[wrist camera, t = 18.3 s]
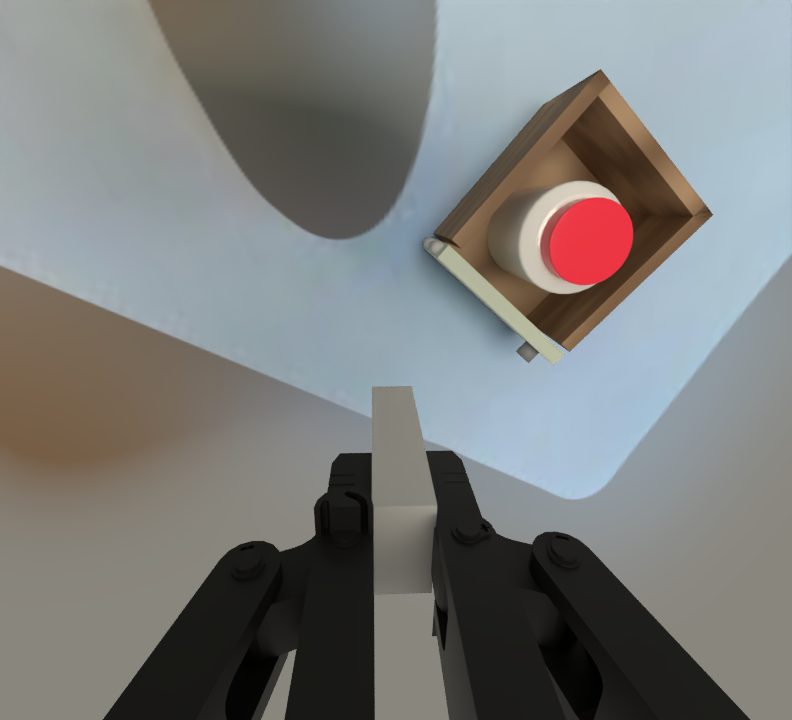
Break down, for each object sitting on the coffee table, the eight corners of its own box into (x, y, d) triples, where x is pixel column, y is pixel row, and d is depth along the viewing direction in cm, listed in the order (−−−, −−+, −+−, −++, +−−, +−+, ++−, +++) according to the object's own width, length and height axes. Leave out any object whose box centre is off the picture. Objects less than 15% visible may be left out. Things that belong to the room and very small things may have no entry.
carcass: (433, 232, 36) (451, 239, 28) (543, 104, 33) (600, 69, 25) (528, 322, 40) (569, 351, 32) (635, 213, 37) (713, 214, 28)
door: (409, 253, 37) (420, 266, 29) (427, 233, 36) (443, 239, 28) (508, 342, 40) (542, 376, 32) (525, 324, 40) (565, 354, 32)
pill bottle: (507, 174, 34) (565, 158, 24) (586, 203, 35) (674, 201, 25) (474, 262, 37) (513, 282, 26) (549, 287, 38) (614, 316, 28)
